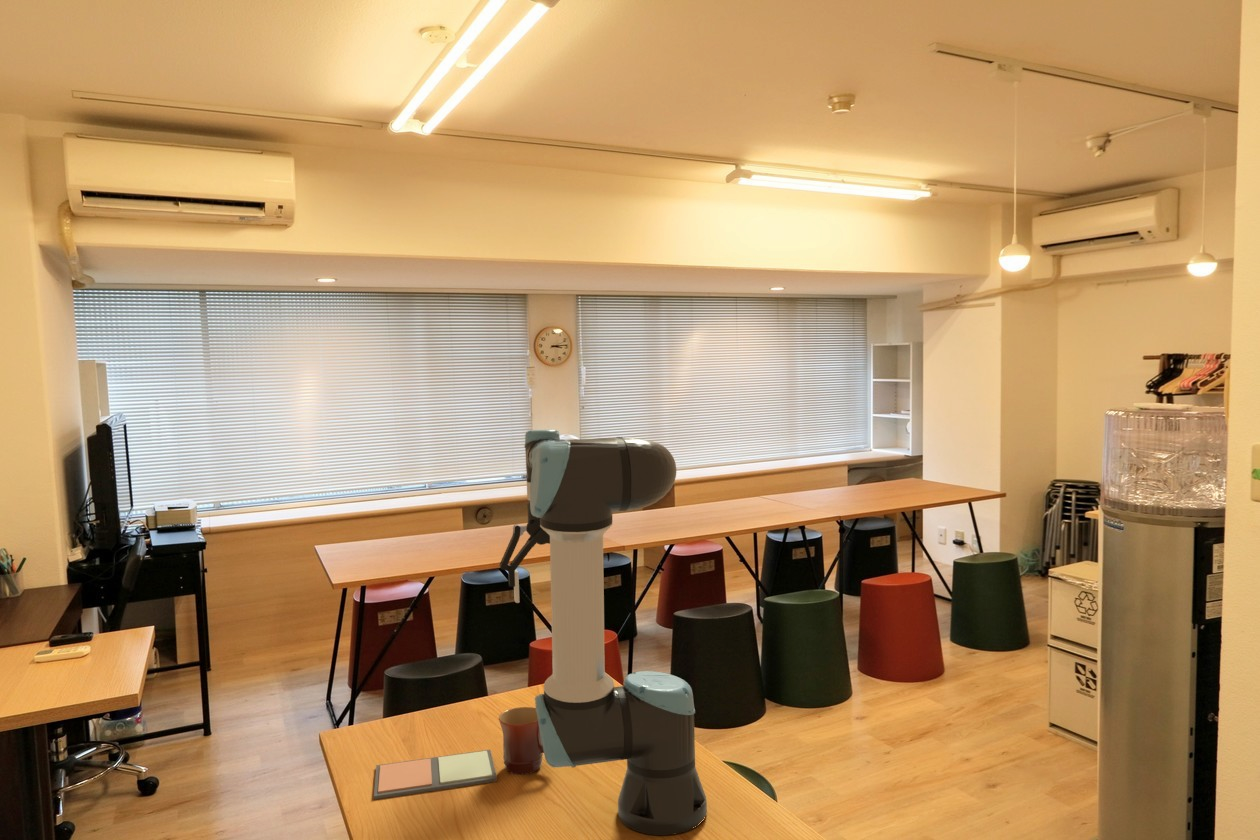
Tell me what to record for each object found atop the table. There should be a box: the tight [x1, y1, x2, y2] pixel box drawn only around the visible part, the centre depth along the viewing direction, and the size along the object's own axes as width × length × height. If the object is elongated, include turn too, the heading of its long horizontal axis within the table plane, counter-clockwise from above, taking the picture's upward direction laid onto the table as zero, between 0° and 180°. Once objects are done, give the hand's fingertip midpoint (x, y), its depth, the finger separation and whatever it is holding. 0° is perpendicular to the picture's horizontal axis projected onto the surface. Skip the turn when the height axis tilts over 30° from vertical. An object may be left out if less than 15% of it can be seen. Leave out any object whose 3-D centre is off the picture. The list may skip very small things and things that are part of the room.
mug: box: [498, 706, 544, 776], centre depth 162 cm, size 12×9×10 cm
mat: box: [373, 749, 498, 800], centre depth 160 cm, size 13×22×1 cm, turn 105°
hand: (548, 598), depth 182 cm, fingers open, 13 cm apart
